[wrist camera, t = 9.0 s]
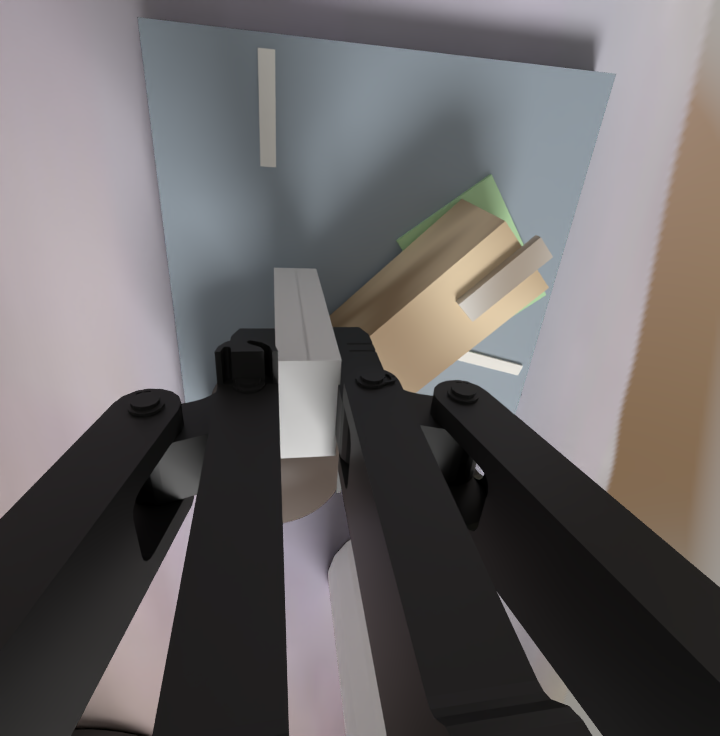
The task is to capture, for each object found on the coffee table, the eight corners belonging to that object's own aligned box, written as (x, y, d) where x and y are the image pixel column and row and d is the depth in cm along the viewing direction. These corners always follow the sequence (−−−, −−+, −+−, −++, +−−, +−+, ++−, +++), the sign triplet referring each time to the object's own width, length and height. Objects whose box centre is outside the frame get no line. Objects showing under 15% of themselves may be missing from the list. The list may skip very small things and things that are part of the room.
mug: (470, 458, 25) (570, 640, 17) (450, 596, 31) (516, 781, 23) (321, 476, 24) (348, 680, 15) (330, 615, 30) (352, 817, 21)
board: (196, 445, 22) (191, 464, 20) (147, 23, 14) (136, 16, 13) (495, 434, 24) (506, 450, 23) (594, 75, 17) (618, 73, 15)
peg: (273, 472, 21) (272, 543, 18) (183, 411, 19) (163, 479, 15) (525, 266, 18) (584, 305, 15) (456, 163, 16) (506, 180, 12)
